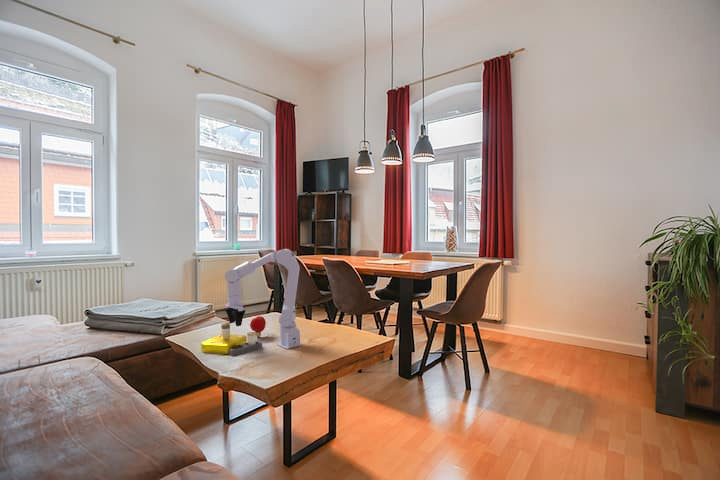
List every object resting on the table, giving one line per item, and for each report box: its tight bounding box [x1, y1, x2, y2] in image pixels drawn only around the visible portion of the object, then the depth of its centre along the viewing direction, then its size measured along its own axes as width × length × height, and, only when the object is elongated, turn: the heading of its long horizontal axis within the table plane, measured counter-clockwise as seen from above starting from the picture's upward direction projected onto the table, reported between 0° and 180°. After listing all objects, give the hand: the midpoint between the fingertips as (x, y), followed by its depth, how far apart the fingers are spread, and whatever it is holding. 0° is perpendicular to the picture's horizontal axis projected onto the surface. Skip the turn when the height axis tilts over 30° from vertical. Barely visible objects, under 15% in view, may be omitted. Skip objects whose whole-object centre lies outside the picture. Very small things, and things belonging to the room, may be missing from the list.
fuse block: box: [227, 339, 263, 357], centre depth 158 cm, size 6×14×2 cm, turn 131°
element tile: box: [200, 333, 248, 355], centre depth 162 cm, size 15×15×5 cm
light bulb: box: [249, 315, 267, 338], centre depth 177 cm, size 9×7×10 cm
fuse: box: [246, 331, 257, 346], centre depth 160 cm, size 4×4×7 cm
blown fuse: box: [220, 321, 231, 339], centre depth 162 cm, size 4×4×7 cm
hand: (235, 324), depth 164 cm, fingers open, 7 cm apart
